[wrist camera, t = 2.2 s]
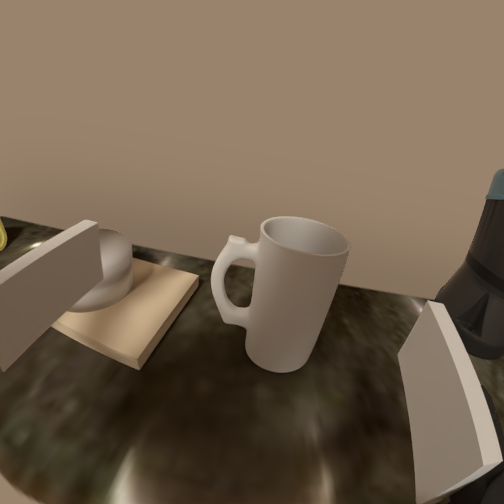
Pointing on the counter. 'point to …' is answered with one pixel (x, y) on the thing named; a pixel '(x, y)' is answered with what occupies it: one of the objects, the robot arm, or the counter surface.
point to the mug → (284, 288)
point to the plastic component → (2, 236)
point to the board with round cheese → (127, 304)
